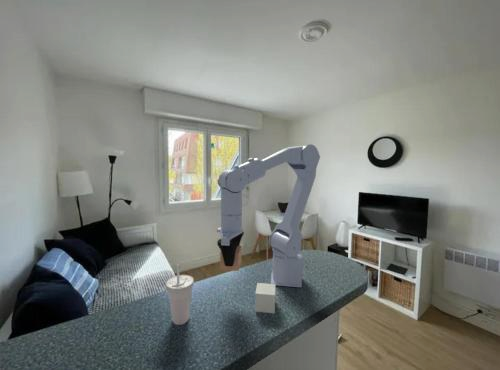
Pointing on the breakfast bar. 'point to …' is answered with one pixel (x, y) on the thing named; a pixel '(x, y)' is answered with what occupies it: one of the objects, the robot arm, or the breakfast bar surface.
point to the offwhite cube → (265, 298)
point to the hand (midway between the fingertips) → (231, 261)
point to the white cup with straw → (180, 296)
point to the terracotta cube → (236, 261)
